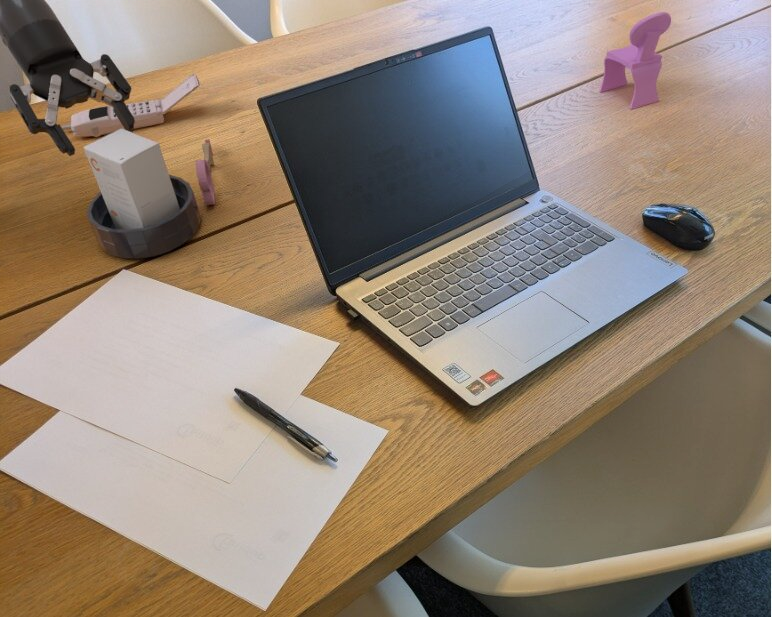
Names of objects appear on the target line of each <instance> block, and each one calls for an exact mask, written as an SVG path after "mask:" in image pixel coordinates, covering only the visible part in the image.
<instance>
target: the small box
mask: <svg viewBox="0 0 772 617" xmlns="http://www.w3.org/2000/svg"><path fill="white" fill-rule="evenodd" d="M83 151H84V153H85V156H86V158H87V161H88V163H89V165H90V168H91V171H92V173H93V176H94V178H95V181H96V183H97V186H98V188H99V191H100V192H101V193H102V196H103V198H104V201H105V203H106V206H107V208H108V211H109V213H110V216H111V218H112V221H113V224H114V226H115V228H116V229H120V230H130V229H138V228H144V227H147V226H151V225H154V224H157V223H160V222H162V221H164V220H166V219H168V218H170V217H172V216H173V215H174V214H175V213H177V212H178V211H179V210H180V208H179V205H178V202H177V199H176V196H175V192H174V189H173V186H172V183H171V180H170V177H169V175H170V173H169V171H168V168H167V164H166V160H165V158H164V155H163V152H162V149H161V145H160V143H159V142H157V141H154V140H152V139H149V138H148V137H144V136H142V135H141V134H137V133H135V132H133V131H131V132H129V131H127V130H124V129H122V128H121V129H119V130H117V131H115V132H113V133H109V134H106V135H104V136H103V137H101V138H99V139H97V140H94V141H93V142H91V143H89V144H87V145H85V146H83Z"/></svg>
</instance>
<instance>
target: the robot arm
mask: <svg viewBox="0 0 772 617" xmlns="http://www.w3.org/2000/svg"><path fill="white" fill-rule="evenodd" d="M0 38H1V41H2V43H3V44H4V46H5V47H7V49H8V51H9V52H10V54H11V55H12V56H13V58H14V60H15V61H16V63H17V64H18V66H19V67H20V69H21V70H22V72H23V73H24V75H25V76H26V79H27V80H28V81H29V83H28V84H23V85H20V86H19V85H18V84H15V83H13V84H11V85H10V86H9V95H10V97H9V98H10V100H11V101H12V103H13V105H14V106H15V109H16V110H17V112H18V114H19V115H20V117H21V119H22V120H23V122H24V125H25V126H26V128H27V129H28V132H29V133H30V134H32V135H38V134H40V133H45V134H48V135H49V137H50V139H51V140H52V141H53V143H54V144H55V145H56V147H57V148H58V151H60V152H61V153H62V154H63V155H64V154H67V155H68V157H72V156H74V155H75V154H76V148H75V147H74V145H73V143H72V141H71V139H70V138H69V137H68V135H67V134H66V132H65V130H63V129H62V126H61V124H60V123H59V124H57V120H58V115H59V108H65V110H67V109H70V108H72V107H73V106H75V105H77V104H83V103H86V102H88V101H89V99H90V100H93V101H95V102H97V103H102V104H105V105H106V106H109V107H113V108H114V110H113V111H114V113H115V114H116V116H117V117H118V119H119V121H120V122H121V124H122V125H123V127H124V128H125V130H127V131H129V132H133V131H134V130H135V129H134V123H135V120H134V117H133V115H132V114H131V112H130V111H129V109H128V107H127V106H126V104H127V103H125V101H128V100H129V99H130V96H131V92H132V86H131V85H130V84H129V82H128V80H127V79H126V78H125V76H124V75H123V73H122V72H121V71H120V70H119V68H118V66H117V65H116V63H115V62H114V61H113V60H112V58H111V56H110V55H108V54H106V53H103V54H102V55H100V59H97V60H94V61H92V62H88V61H87V60H85V58H84V57H83V56H82V54H81V52H80V51H79V49H78V47H77V46H76V45H75V43H74V42H73V40H72V38H71V36H70V35H69V33H68V32H67V30H66V29H65V27H64V26H63V24H62V22H61V21H60V20H59V18H58V16H57V15H56V13H55V12H54V10H53V9H52V7H51V6H50V5H49V3H48V2H47V1H46V0H0ZM94 73H97V74H99V75H100V76H101V77H103V78H106V79H107V80H108V82H109V83H110V85H111V86H112V87H113V88H114V89H112V88H110V87H109V86H108V85H107V84H106V83H104V82H101V81H100V80H99V79H95V78H94ZM32 95H34V96H36V97H38V98H40V99H41V100H44V101H46V102H47V104H46V113H45V118H38V116H37V115H36V112H34V110H33V108H32V106H31V104H30V103H31V102H32V97H31V96H32Z"/></svg>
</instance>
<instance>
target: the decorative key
mask: <svg viewBox="0 0 772 617" xmlns="http://www.w3.org/2000/svg"><path fill="white" fill-rule="evenodd" d="M201 147H202V152H203V159H199V160H195V172H196V177H197V181H198V185H199V189H200V192H202V194H201V195H202V198H203V203H204V205H205V206H211V205H215V204H216V198H215V192H214V191H215V190H214V182H213V181H214V180H213V178H212V175H211V173H212V169H211V167H214V166H215V161H214V157H213V155H214V153H213V148H212V144H211V140H210V139H205V140H204V143H201Z"/></svg>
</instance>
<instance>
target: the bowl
mask: <svg viewBox="0 0 772 617" xmlns="http://www.w3.org/2000/svg"><path fill="white" fill-rule="evenodd" d="M169 177H170V180H171V183H172V186H173V189H174V192H175V196H176V199H177V202H178V205H179V208H180V210H179V211H178V212H177V213H175V214H174V215H173V216H172V217H170V218H168V219H166V220H164V221H162V222H160V223H157V224H154V225H151V226H147V227H144V228H138V229H130V230H120V229H116V228H115V226H114V224H113V221H112V218H111V216H110V213H109V211H108V208H107V206H106V203H105V201H104V198H103V196H102V193H101V191H100V192H98V193H97V194H96V195H95V196H94V197H93V199H92V200H91V201H90V202H89V204H88V207H87V210H86V215H87V216H86V217H87V219H88V222H89V224H90V227H91V229H92V231H93V233H94V236H95V238H96V240H97V243H98V245H99V247H100V248H101V249H102V250H103V251H104V252H106V254H108V255H111V256H115V257H118V258H121V259H130V260H131V259H133V260H135V259H136V260H139V259H148V258H154V257H158V256H161V255H164V254H167V253H170V252H171V251H174V250H176V249H178V248H179V247H181V246H182V245H183V244H185V243H186V242H187V241H188V240H190V239H191V238H192V237H193V236H194V235H195V233H196V232H197V230H198V229H199V227H200V222H201V214H200V210H199V207H198V204H197V200H196V197H195V196H196V195H195V192H194V190H193V188H192V186H191V184H190V183H189V182H188V181H186V180H184V179H183V178H182V177H179V176H177V175H172V174H169Z"/></svg>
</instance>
